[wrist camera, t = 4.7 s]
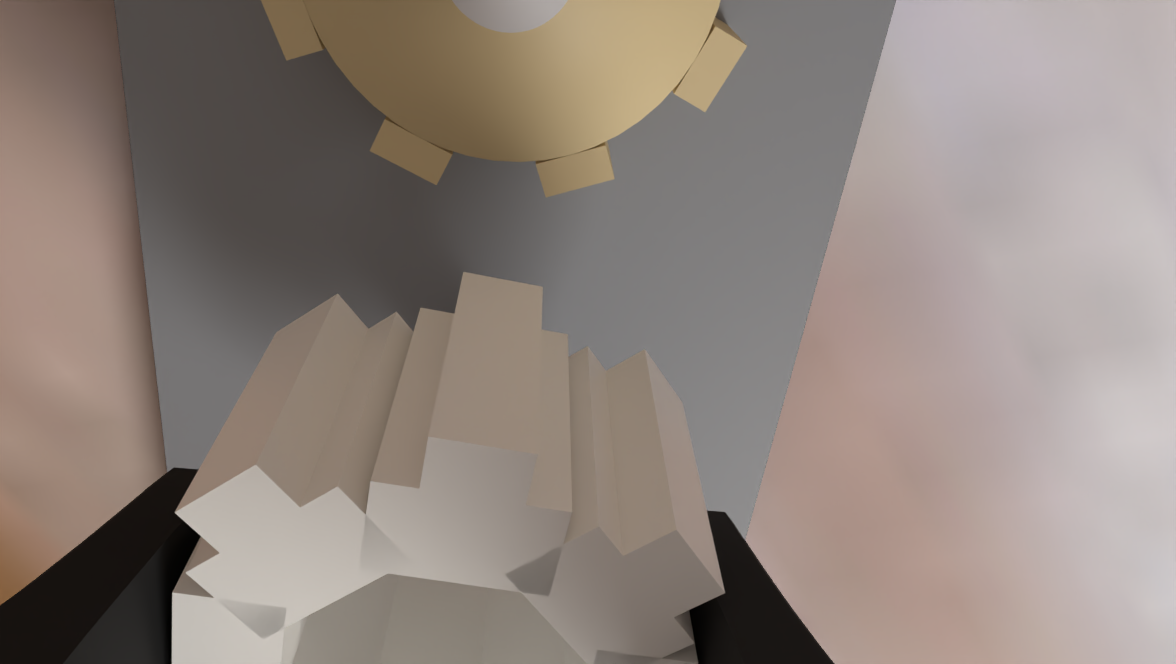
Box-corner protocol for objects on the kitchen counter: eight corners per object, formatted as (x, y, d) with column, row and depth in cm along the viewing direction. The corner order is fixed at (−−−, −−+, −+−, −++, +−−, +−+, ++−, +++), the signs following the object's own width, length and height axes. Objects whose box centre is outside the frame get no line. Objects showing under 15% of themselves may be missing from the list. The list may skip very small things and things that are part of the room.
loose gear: (711, 318, 12) (767, 492, 8) (596, 670, 15) (606, 892, 12) (281, 237, 11) (173, 394, 8) (254, 625, 14) (170, 848, 11)
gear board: (966, -357, 12) (1124, -429, 9) (673, 743, 22) (693, 897, 19) (92, -513, 11) (-103, -662, 8) (213, 717, 21) (152, 875, 18)
